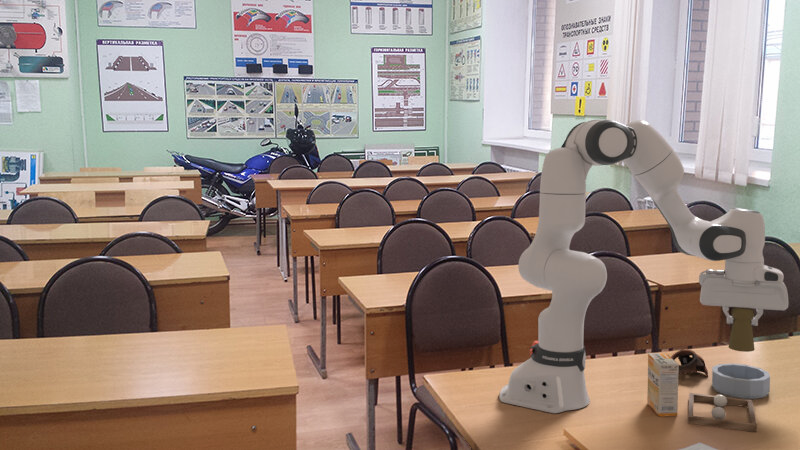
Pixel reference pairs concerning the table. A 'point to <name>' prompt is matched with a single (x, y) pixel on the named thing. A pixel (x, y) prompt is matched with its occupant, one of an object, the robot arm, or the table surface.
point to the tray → (720, 422)
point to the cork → (742, 330)
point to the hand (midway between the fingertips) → (742, 324)
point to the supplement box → (662, 384)
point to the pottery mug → (690, 362)
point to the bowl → (740, 381)
